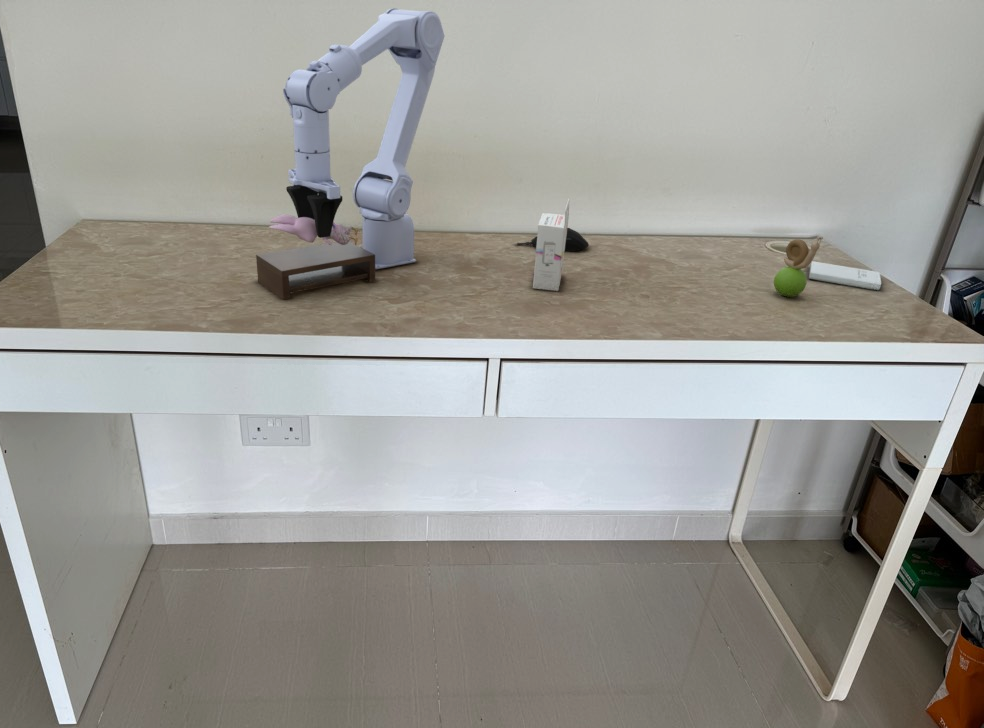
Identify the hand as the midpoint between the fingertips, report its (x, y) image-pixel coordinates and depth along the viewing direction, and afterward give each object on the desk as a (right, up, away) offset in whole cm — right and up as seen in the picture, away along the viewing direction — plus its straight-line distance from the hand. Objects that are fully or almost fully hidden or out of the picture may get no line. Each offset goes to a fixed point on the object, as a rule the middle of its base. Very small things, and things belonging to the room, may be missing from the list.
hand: (315, 232), depth 132 cm
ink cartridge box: (+41, -7, +9) cm, 43 cm away
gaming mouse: (+45, +3, +29) cm, 54 cm away
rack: (0, -8, +4) cm, 9 cm away
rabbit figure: (0, -1, +1) cm, 2 cm away
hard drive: (+100, -5, +18) cm, 102 cm away
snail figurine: (+85, -10, +8) cm, 86 cm away
